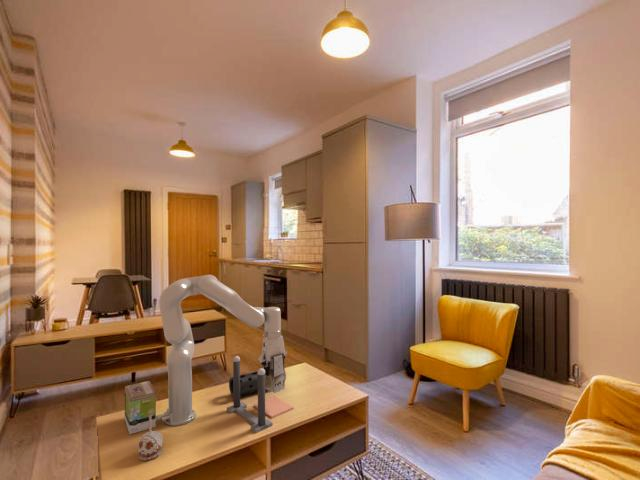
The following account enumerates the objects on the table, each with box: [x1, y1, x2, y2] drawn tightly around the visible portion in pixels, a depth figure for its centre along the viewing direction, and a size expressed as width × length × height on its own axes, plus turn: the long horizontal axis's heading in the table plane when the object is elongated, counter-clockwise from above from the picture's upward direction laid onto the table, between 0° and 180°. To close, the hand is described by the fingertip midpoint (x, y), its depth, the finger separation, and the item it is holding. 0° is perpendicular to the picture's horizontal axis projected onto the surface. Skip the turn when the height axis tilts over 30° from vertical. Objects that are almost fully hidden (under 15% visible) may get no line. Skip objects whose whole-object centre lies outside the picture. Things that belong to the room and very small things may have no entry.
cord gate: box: [226, 355, 274, 434], centre depth 144 cm, size 8×25×24 cm, turn 42°
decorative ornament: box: [136, 413, 163, 461], centre depth 119 cm, size 8×8×15 cm
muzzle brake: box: [228, 368, 287, 397], centre depth 171 cm, size 10×28×10 cm, turn 124°
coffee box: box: [261, 353, 286, 394], centre depth 153 cm, size 9×6×16 cm
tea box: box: [124, 380, 157, 435], centre depth 141 cm, size 15×10×15 cm, turn 37°
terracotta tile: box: [253, 396, 295, 419], centre depth 153 cm, size 12×15×1 cm
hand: (273, 372), depth 153 cm, fingers closed on coffee box, 6 cm apart
